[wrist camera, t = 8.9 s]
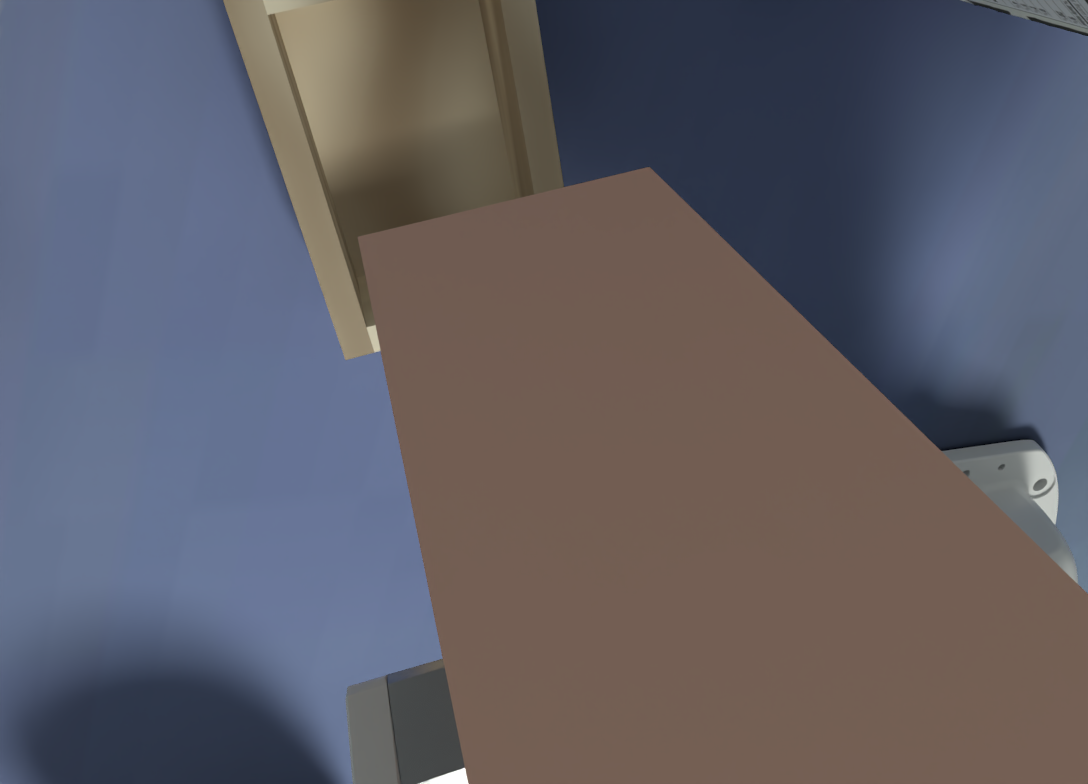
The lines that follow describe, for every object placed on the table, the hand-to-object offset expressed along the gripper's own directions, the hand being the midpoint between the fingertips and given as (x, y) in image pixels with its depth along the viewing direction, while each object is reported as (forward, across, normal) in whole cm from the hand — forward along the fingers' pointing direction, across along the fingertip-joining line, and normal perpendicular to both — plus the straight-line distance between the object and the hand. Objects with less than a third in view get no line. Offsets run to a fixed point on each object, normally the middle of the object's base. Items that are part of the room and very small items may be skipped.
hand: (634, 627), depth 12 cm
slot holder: (+24, 0, 0) cm, 24 cm away
